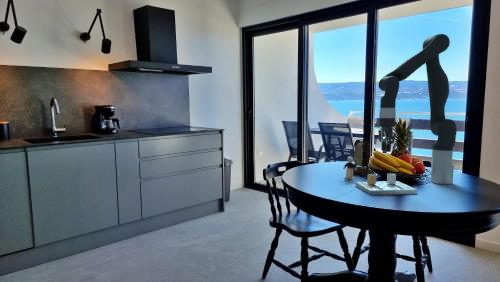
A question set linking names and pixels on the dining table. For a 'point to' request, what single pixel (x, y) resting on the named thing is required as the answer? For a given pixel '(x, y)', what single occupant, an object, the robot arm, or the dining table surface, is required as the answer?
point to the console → (385, 188)
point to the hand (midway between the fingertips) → (385, 150)
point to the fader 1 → (371, 179)
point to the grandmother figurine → (350, 168)
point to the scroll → (358, 157)
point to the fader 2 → (391, 178)
